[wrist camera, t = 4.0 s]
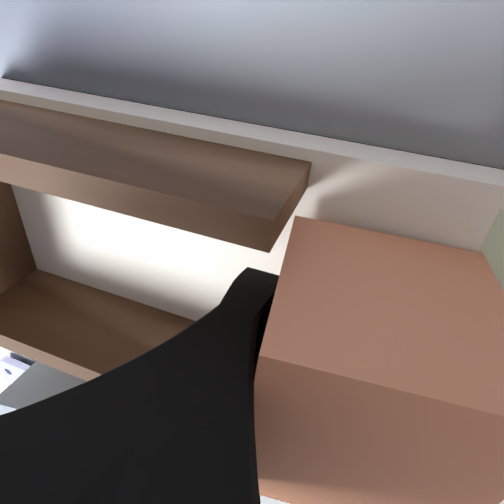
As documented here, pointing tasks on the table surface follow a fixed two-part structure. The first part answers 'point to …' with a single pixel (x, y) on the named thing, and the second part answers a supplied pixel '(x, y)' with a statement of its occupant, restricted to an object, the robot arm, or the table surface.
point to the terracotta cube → (380, 373)
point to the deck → (310, 206)
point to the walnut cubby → (128, 203)
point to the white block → (36, 386)
